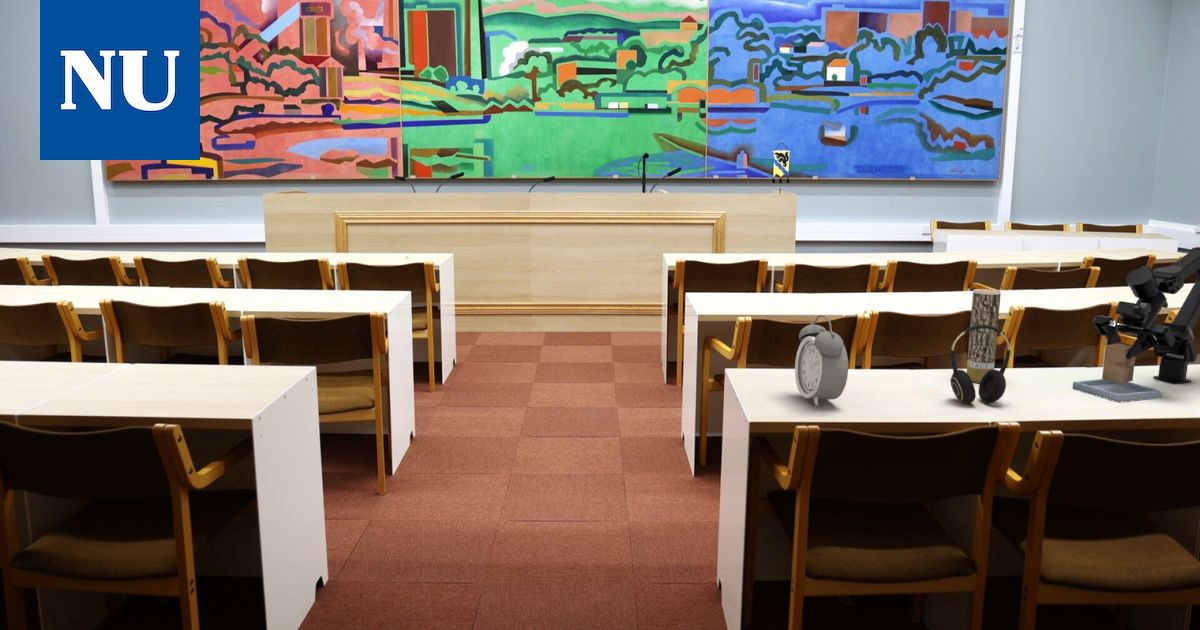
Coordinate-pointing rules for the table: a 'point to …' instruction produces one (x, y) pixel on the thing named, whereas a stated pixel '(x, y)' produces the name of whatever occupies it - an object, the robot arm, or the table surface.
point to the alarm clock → (820, 363)
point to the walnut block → (1118, 364)
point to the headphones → (990, 383)
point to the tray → (1116, 390)
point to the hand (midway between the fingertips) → (1116, 355)
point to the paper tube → (983, 333)
